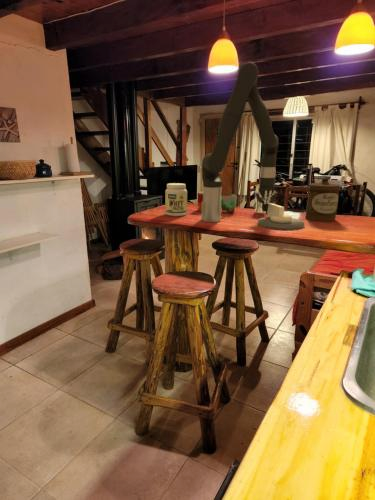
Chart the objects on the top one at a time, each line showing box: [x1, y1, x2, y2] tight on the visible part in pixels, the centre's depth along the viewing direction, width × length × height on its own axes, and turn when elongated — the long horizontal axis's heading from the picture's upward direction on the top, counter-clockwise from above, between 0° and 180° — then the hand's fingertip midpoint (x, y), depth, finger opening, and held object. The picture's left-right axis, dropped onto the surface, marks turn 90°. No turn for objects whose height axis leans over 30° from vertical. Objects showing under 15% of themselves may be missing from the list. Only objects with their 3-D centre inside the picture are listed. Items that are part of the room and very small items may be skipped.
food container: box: [221, 193, 238, 214], centre depth 184 cm, size 12×6×10 cm, turn 143°
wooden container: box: [305, 176, 341, 223], centre depth 167 cm, size 15×15×22 cm
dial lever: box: [265, 202, 293, 223], centre depth 158 cm, size 18×10×7 cm, turn 15°
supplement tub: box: [164, 182, 188, 217], centre depth 177 cm, size 12×12×17 cm
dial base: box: [257, 216, 305, 231], centre depth 156 cm, size 22×22×2 cm
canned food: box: [197, 190, 203, 212], centre depth 190 cm, size 8×8×11 cm
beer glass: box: [254, 185, 266, 214], centre depth 184 cm, size 7×7×15 cm
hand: (264, 211), depth 162 cm, fingers closed
